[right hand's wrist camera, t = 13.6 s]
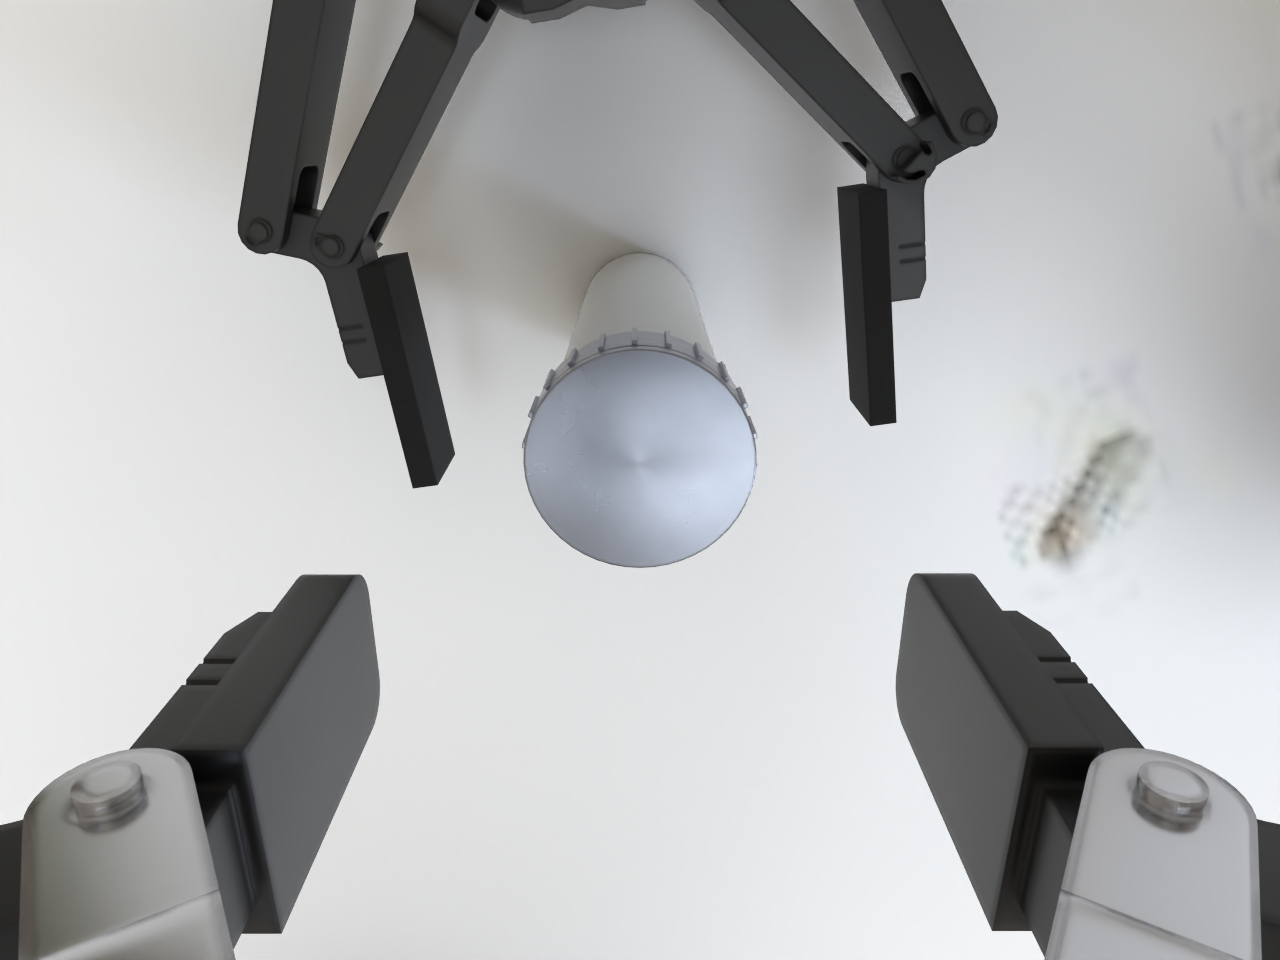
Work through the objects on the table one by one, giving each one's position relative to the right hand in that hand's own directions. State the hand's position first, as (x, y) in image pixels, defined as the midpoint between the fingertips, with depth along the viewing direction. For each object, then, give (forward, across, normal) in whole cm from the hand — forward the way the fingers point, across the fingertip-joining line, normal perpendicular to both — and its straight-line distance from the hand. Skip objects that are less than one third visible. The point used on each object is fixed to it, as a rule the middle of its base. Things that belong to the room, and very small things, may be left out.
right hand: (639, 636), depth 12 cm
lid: (+7, 0, 0) cm, 7 cm away
